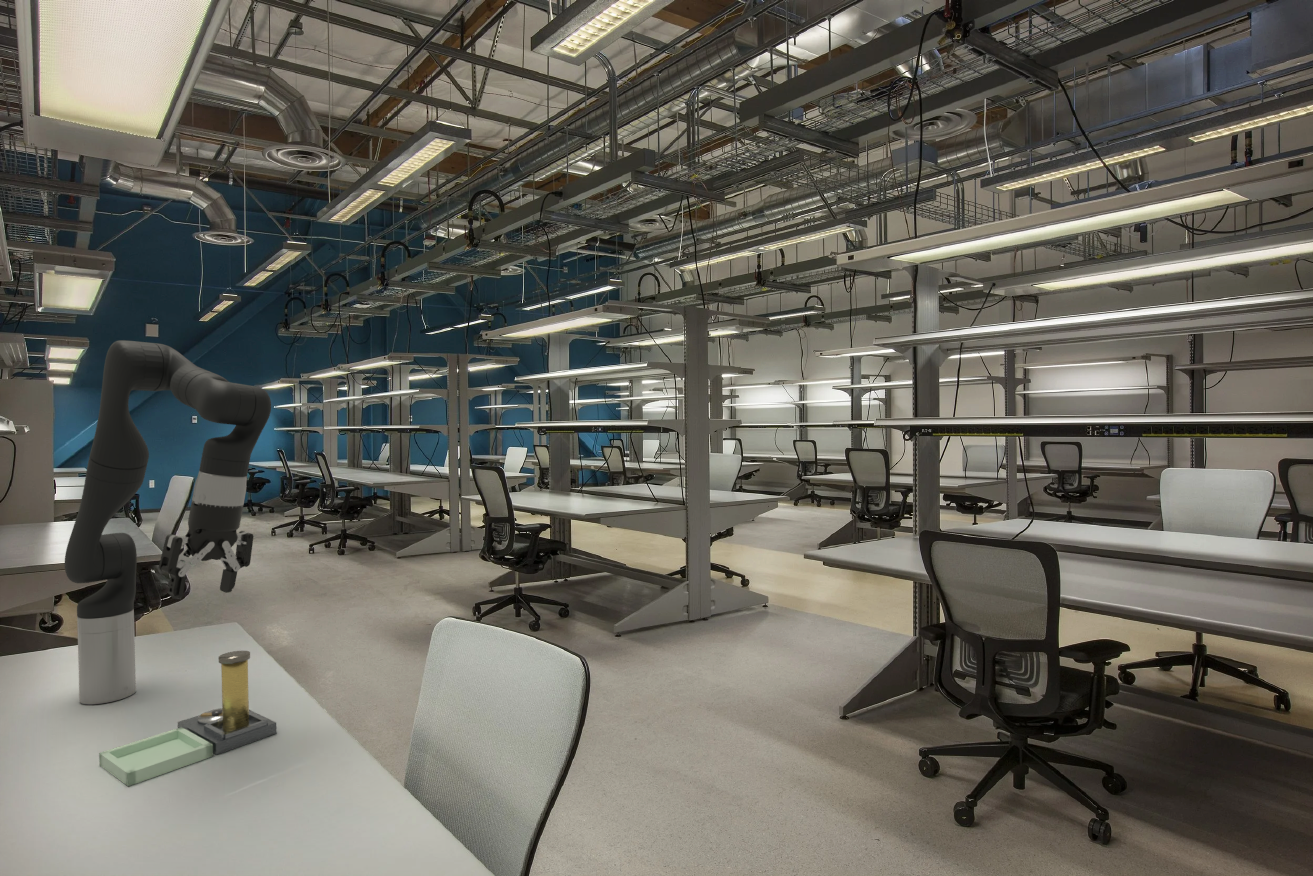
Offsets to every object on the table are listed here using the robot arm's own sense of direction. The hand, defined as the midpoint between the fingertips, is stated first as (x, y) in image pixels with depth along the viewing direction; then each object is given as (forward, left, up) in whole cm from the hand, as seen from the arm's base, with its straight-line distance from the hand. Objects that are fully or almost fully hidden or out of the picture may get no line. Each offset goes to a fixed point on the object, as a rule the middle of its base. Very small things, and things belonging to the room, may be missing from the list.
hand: (201, 594), depth 121 cm
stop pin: (-1, +5, -25) cm, 25 cm away
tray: (-3, -6, -27) cm, 28 cm away
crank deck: (-4, +5, -27) cm, 28 cm away
